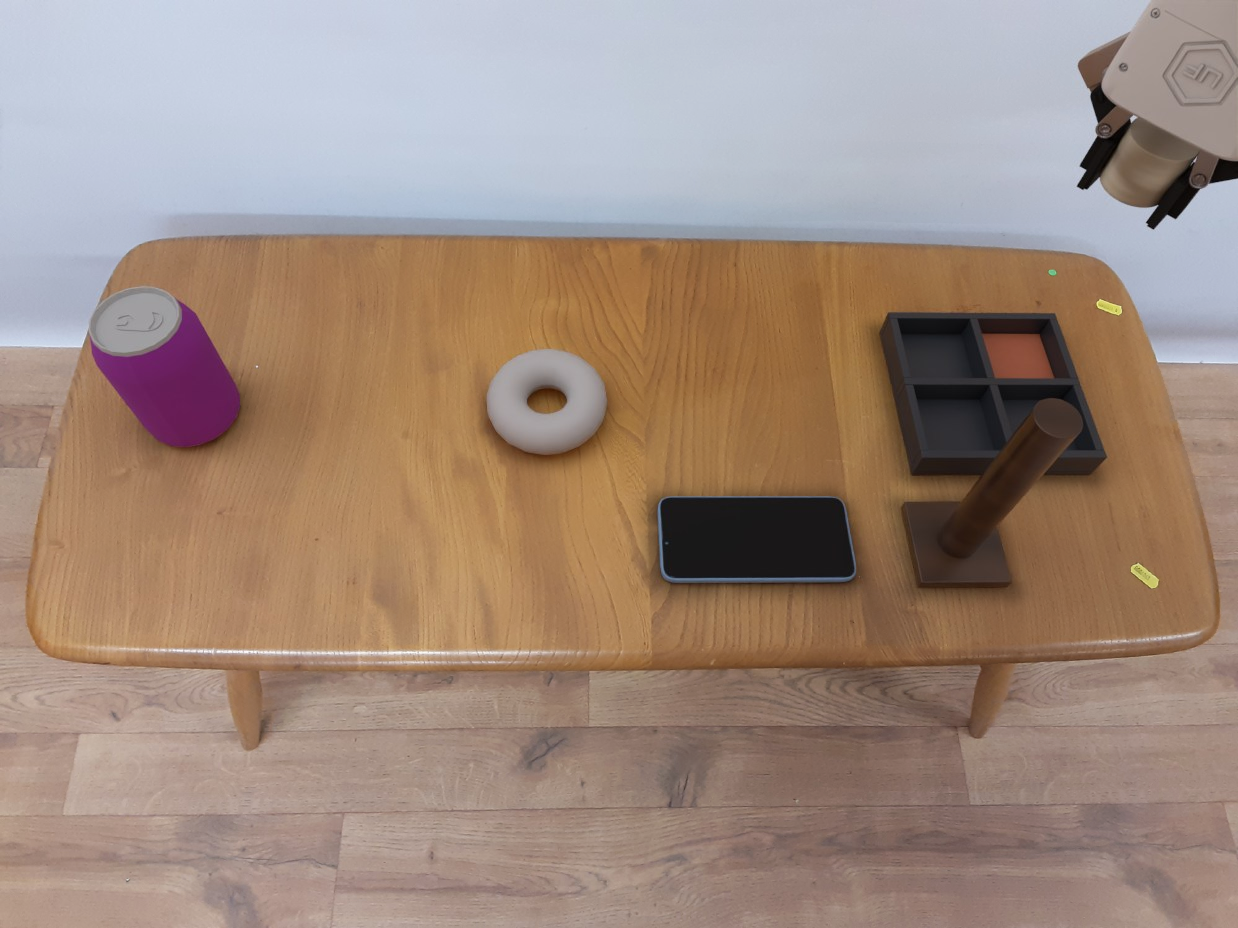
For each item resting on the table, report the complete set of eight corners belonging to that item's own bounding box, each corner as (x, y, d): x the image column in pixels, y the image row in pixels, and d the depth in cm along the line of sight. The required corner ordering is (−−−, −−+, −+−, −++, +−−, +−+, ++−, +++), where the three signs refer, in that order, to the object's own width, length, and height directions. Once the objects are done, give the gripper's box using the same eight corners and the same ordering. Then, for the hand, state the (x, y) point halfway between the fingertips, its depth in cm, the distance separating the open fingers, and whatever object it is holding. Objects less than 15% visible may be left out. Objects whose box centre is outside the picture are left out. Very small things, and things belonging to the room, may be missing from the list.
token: (1178, 186, 61) (1214, 138, 58) (1147, 218, 60) (1182, 171, 56) (1119, 153, 63) (1150, 104, 60) (1087, 183, 61) (1117, 135, 58)
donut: (483, 462, 72) (606, 464, 72) (478, 439, 69) (606, 441, 69) (493, 364, 77) (608, 366, 77) (489, 338, 74) (608, 341, 74)
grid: (1090, 475, 73) (1107, 457, 71) (911, 475, 73) (922, 457, 70) (1041, 333, 81) (1055, 312, 79) (878, 332, 80) (888, 311, 78)
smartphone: (859, 578, 67) (661, 580, 66) (856, 583, 67) (660, 585, 67) (844, 493, 70) (657, 493, 70) (841, 498, 71) (656, 498, 70)
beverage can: (139, 455, 71) (65, 364, 61) (156, 378, 75) (89, 280, 65) (238, 450, 72) (181, 358, 61) (249, 374, 76) (197, 276, 65)
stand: (1007, 587, 68) (1132, 466, 52) (917, 587, 68) (1016, 467, 52) (985, 506, 71) (1096, 372, 56) (900, 507, 71) (988, 371, 56)
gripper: (1125, -105, 48) (992, 164, 64) (1447, 34, 42) (1214, 292, 58) (1186, -151, 51) (1044, 117, 67) (1494, -27, 45) (1260, 234, 61)
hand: (1125, 196), depth 62 cm, fingers closed on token, 4 cm apart
